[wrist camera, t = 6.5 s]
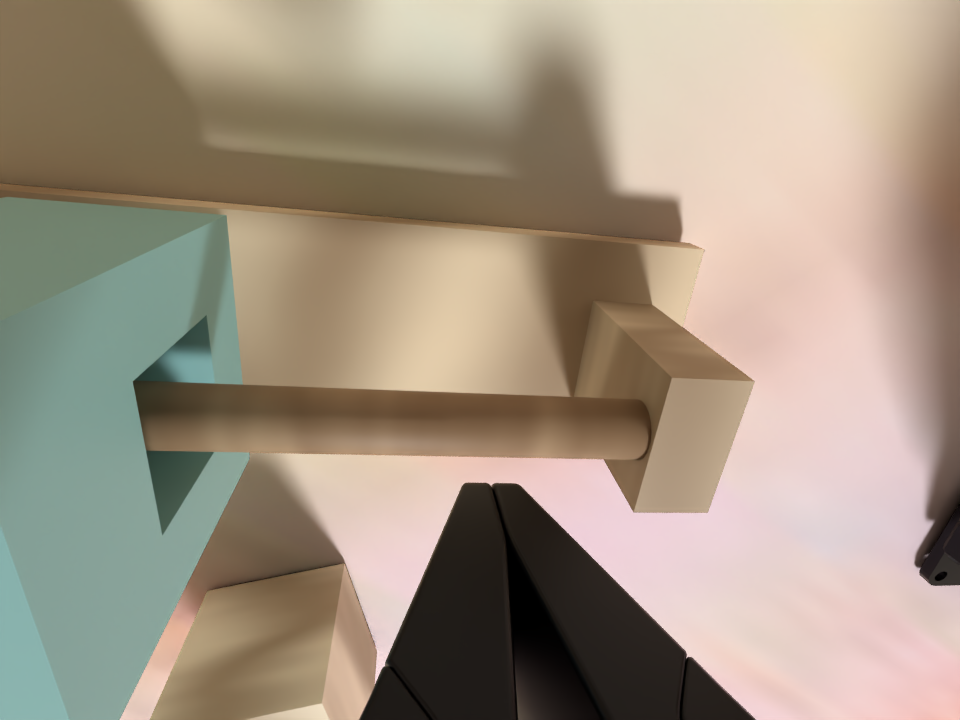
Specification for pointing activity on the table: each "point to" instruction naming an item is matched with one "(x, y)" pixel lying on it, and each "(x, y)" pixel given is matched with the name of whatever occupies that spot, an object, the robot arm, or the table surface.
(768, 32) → the table surface
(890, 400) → the table surface
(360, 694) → the maple cube
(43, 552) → the bead
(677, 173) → the table surface
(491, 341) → the rail
